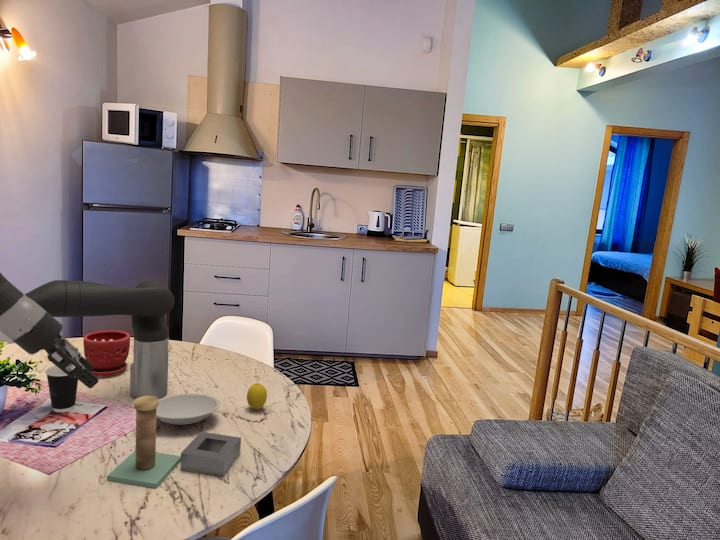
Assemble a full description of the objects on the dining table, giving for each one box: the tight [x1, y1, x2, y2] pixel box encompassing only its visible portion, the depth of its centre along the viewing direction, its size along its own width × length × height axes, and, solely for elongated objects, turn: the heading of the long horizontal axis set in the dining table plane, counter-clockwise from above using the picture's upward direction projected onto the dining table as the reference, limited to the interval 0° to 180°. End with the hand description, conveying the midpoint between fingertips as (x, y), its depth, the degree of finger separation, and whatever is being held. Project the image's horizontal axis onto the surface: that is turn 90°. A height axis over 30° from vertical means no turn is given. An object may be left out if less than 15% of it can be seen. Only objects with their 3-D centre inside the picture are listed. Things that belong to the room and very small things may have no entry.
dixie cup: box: [45, 365, 79, 413], centre depth 133 cm, size 8×8×11 cm
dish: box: [156, 393, 221, 426], centre depth 132 cm, size 18×14×5 cm
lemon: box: [246, 382, 268, 410], centre depth 142 cm, size 6×6×8 cm
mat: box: [106, 449, 181, 489], centre depth 110 cm, size 11×11×1 cm
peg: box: [133, 396, 160, 471], centre depth 109 cm, size 5×5×15 cm
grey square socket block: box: [180, 431, 242, 477], centre depth 115 cm, size 10×10×4 cm
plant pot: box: [83, 330, 131, 377], centre depth 159 cm, size 13×13×12 cm
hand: (92, 377), depth 103 cm, fingers open, 8 cm apart
